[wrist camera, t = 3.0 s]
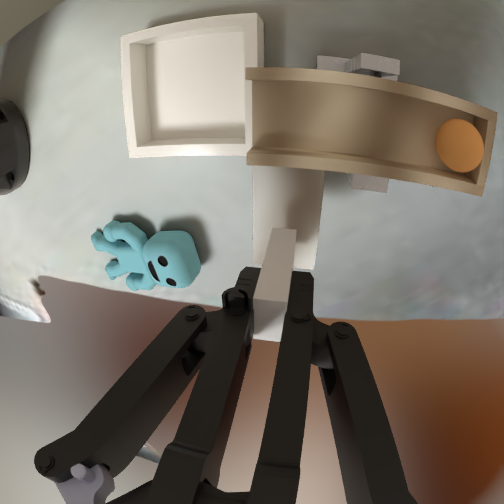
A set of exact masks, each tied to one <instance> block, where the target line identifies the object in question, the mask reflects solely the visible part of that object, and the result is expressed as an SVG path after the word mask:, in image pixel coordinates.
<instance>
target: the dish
mask: <svg viewBox="0 0 504 504" xmlns="http://www.w3.org/2000/svg"><path fill="white" fill-rule="evenodd" d="M120 45H121V75H122V91H123V104H124V115H125V125H126V134H127V142H128V150H129V157H130V158H140V157H159V156H195V155H223V156H247V155H246V153H247V152H248V151H249V150H250V149H251V148H252V80H245V67H264V21H263V20H262V19H261V17H260V16H259V15H258V13H243V14H230V15H220V16H211V17H204V18H197V19H191V20H185V21H179V22H174V23H169V24H165V25H160V26H156V27H152V28H148V29H144V30H140V31H136V32H133V33H129V34H126V35H123V36H120Z"/></svg>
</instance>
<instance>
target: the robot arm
mask: <svg viewBox="0 0 504 504" xmlns="http://www.w3.org/2000/svg"><path fill="white" fill-rule="evenodd" d="M28 167H29V142H28V136H27V131H26V127H25V124H24V121H23V118H22V116H21V114H20V112H19V110H18V109H17V107H16V106H15V105H14V104H13V103H12V102H10V101H8V100H2V101H0V195H5V194H8V193H11V192H12V191H14V190H15V189H17V188H19V187H20V186H21V185H22V184H23V182H24V180H25V178H26V176H27V172H28ZM296 232H297V230H296V229H285V228H272V231H271V235H270V239H269V242H268V246H267V250H266V253H265V257H264V260H263V264H262V268H254V267H245V268H244V269H243V270H242V271H241V272H240V274H239V277H238V280H237V282H236V285H235V287H233V288H230V289H227V290H226V291H224V292H223V294H222V303H223V309H221V310H218V311H212V312H205V310H204V309H203V308H202V307H200V306H197V305H189V306H186V307H184V308H182V309H181V310H180V311H179V312H178V313H177V314H176V316H175V317H174V318H173V319H172V320H171V321H170V322H169V323H168V324H167V326H166V327H165V328H164V329H163V330H162V331H161V332H160V333H159V335H158V336H157V337H156V338H155V339H154V340H153V341H152V342H151V343H150V344H149V346H148V347H147V348H146V349H145V350H144V351H143V352H142V353H141V355H140V356H139V357H138V358H137V359H136V360H135V361H134V362H133V364H132V365H131V366H130V367H129V368H128V369H127V370H126V372H125V373H124V374H123V375H122V376H121V377H120V378H119V379H118V381H117V382H116V383H115V384H114V385H113V386H112V388H111V389H110V390H109V391H108V392H107V393H106V394H105V396H104V397H103V398H102V399H101V400H100V401H99V402H98V404H97V405H96V406H95V407H94V408H93V409H92V410H91V411H90V413H89V414H88V415H87V416H86V417H85V419H84V420H83V421H82V422H81V423H80V424H79V426H77V428H76V429H75V430H74V431H72V432H70V433H68V434H67V435H65V436H63V437H61V438H59V439H57V440H56V441H54V442H52V443H50V444H48V445H46V446H44V447H42V448H41V449H40V450H38V451H37V453H36V455H35V459H34V463H35V467H36V469H37V471H38V472H39V473H40V474H41V475H43V476H44V477H46V478H48V479H50V480H52V481H54V482H55V483H56V485H57V487H58V489H59V491H60V493H61V495H62V496H63V498H64V500H65V502H66V504H105V500H106V498H107V496H108V495H109V494H110V493H111V492H113V491H114V489H115V486H114V479H113V478H114V477H116V476H117V475H118V474H119V473H121V472H122V471H123V470H124V469H125V468H126V467H127V466H128V465H129V463H130V462H131V461H132V460H133V459H134V457H135V456H136V455H137V453H138V452H139V451H140V449H141V448H142V447H143V445H144V444H145V443H146V441H147V440H148V439H149V437H150V436H151V435H152V433H153V432H154V431H155V429H156V428H157V427H158V425H159V424H160V423H161V421H162V420H163V419H164V417H165V416H166V415H167V413H168V412H169V411H170V409H171V408H172V406H173V405H174V404H175V402H176V401H177V400H178V398H179V397H180V396H181V394H182V393H183V391H184V390H185V389H186V387H187V386H188V384H189V383H190V382H191V380H192V379H193V377H194V376H195V375H196V373H197V372H198V371H199V369H200V371H199V373H198V376H197V379H196V381H195V384H194V387H193V389H192V392H191V395H190V398H189V400H188V403H187V406H186V408H185V411H184V414H183V417H182V419H181V422H180V425H179V427H178V430H177V433H176V436H175V438H174V440H173V442H171V443H170V444H168V445H167V447H166V448H165V450H164V452H163V454H162V457H161V459H160V462H159V465H158V468H157V470H156V473H155V476H154V478H153V480H151V481H149V482H147V483H145V484H143V485H141V486H139V487H138V488H136V489H134V490H132V491H130V492H128V493H126V494H124V495H122V496H120V497H118V498H116V499H114V500H112V501H110V502H108V503H106V504H295V503H296V497H297V491H298V485H299V479H300V458H301V451H302V444H303V437H304V428H305V419H306V410H307V401H308V390H309V379H310V367H311V364H314V365H316V366H318V368H319V372H320V377H321V381H322V385H323V389H324V394H325V398H326V403H327V407H328V412H329V416H330V420H331V425H332V429H333V434H334V439H335V444H336V448H337V454H338V459H339V464H340V468H341V474H342V479H343V484H344V489H345V495H346V501H347V504H418V503H417V502H416V500H415V499H414V498H413V497H412V495H411V494H410V493H409V491H408V488H407V483H406V480H405V476H404V472H403V468H402V465H401V461H400V458H399V454H398V451H397V447H396V444H395V441H394V437H393V434H392V431H391V428H390V424H389V421H388V418H387V415H386V412H385V409H384V406H383V403H382V400H381V397H380V394H379V391H378V388H377V385H376V383H375V380H374V377H373V374H372V371H371V369H370V366H369V363H368V360H367V358H366V355H365V352H364V350H363V347H362V345H361V342H360V339H359V337H358V334H357V332H356V330H355V328H354V327H353V326H352V325H350V324H348V323H345V322H336V323H333V324H332V325H330V326H329V325H326V324H324V323H321V322H320V321H318V320H317V319H316V318H315V316H314V314H313V291H314V278H313V276H312V275H311V273H310V272H300V271H293V267H294V256H295V244H296ZM252 337H253V338H254V339H260V340H268V341H276V342H280V347H279V353H278V359H277V365H276V370H275V377H274V382H273V387H272V393H271V398H270V403H269V409H268V414H267V419H266V424H265V429H264V434H263V438H262V443H261V448H260V453H259V457H258V461H257V464H256V468H255V472H254V477H253V481H252V485H251V490H250V492H231V493H230V492H229V493H228V492H223V491H221V490H219V489H217V485H218V481H219V476H220V467H221V463H222V459H223V455H224V452H225V448H226V444H227V441H228V437H229V433H230V430H231V426H232V422H233V418H234V414H235V410H236V407H237V402H238V399H239V395H240V391H241V387H242V383H243V379H244V376H245V372H246V367H247V363H248V359H249V355H250V351H251V347H252V345H251V341H252Z"/></svg>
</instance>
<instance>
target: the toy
mask: <svg viewBox="0 0 504 504" xmlns="http://www.w3.org/2000/svg"><path fill="white" fill-rule="evenodd" d="M103 234H104V235H103ZM103 234H102V233H101V232H100V231H96V232H95V233H94V234H92V236H91V240H92V243H93V245H94V247H95V249H96V250H97V251H106V252H108V253H110V254H112V255H114V256H116V257H117V259H118V261H111V262H109V263H108V264H107V265H106V267H105V270H106V272H107V274H108V276H109V278H110V279H111V280H114V279H115V278H116V277H117V276H121V275H123V274H125V273H127V272H132V273H131V274H130V275H129V276H128V277H127V278H126V285H127V286H128V287H129V288H130V289H131V290H133V291H137V290H139V289H144V290H151V289H153V287H154V286H155V285H156V284H158V285H160V286H166V287H175V288H185V287H187V286H189V285H190V284H191V283H192V282H193V281H194V279H195V278H196V277H197V275H198V274H199V272H200V269H201V264H200V260H199V257H198V254H197V251H196V248H195V244H194V241H193V239H192V237H191V236H190V234H188V233H187V232H185V231H160V232H157V233H156V234H154V235H153V236H152V237H151V238H150V239H149V240H148V239H147V236H146V234H145V233H144V232H143V231H142V230H140V229H139V228H138V227H136V226H135V225H134V224H132V223H130V222H127V223H120V222H119V221H115V220H114V221H111V222H110V223H108V224H107V225H106V226H105V227H104V230H103ZM118 239H123V240H125V241H126V242H123V241H121V240H118ZM142 273H143V274H142Z"/></svg>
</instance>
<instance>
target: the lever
mask: <svg viewBox="0 0 504 504" xmlns="http://www.w3.org/2000/svg"><path fill="white" fill-rule="evenodd" d="M245 80H252V148H251V149H250V150H249V151H248V152H247V153H246V155H247V165H253V264H263V260H264V257H265V253H266V250H267V246H268V242H269V239H270V235H271V231H272V228H285V229H296V230H297V232H296V244H295V256H294V267H293V268H303V269H314V264H315V257H316V249H317V242H318V234H319V225H320V216H321V207H322V197H323V187H324V176H325V170H326V171H336V172H345V173H353V174H361V175H369V176H376V177H383V178H390V179H396V180H402V181H408V182H414V183H420V184H425V185H431V186H436V187H441V188H446V189H450V190H455V191H460V192H464V193H469V194H473V195H477V196H481V197H482V194H483V191H484V187H485V182H486V178H487V174H488V169H489V164H490V159H491V154H492V148H493V142H494V136H495V129H496V121H497V112H494V111H492V110H489V109H487V108H485V107H482V106H479V105H477V104H474V103H471V102H469V101H466V100H463V99H460V98H457V97H454V96H451V95H448V94H445V93H441V92H438V91H435V90H431V89H427V88H424V87H420V86H416V85H412V84H408V83H403V82H399V81H394V80H389V79H384V78H379V77H373V76H367V75H361V74H354V73H347V72H339V71H330V70H319V69H305V68H284V67H245ZM450 119H463V120H465V121H467V122H469V123H471V124H472V125H473V126H474V127H475V128H476V129H477V130H478V132H479V133H480V135H481V137H482V140H483V144H484V154H483V158H482V160H481V162H480V164H479V165H478V166H477V167H476V168H475V169H473V170H471V171H468V172H458V171H454V170H452V169H451V168H449V167H448V166H446V165H445V164H444V163H443V161H442V160H441V158H440V157H439V155H438V152H437V149H436V144H435V140H436V134H437V131H438V129H439V127H440V126H441V125H442V124H443V123H444V122H446V121H448V120H450Z"/></svg>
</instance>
